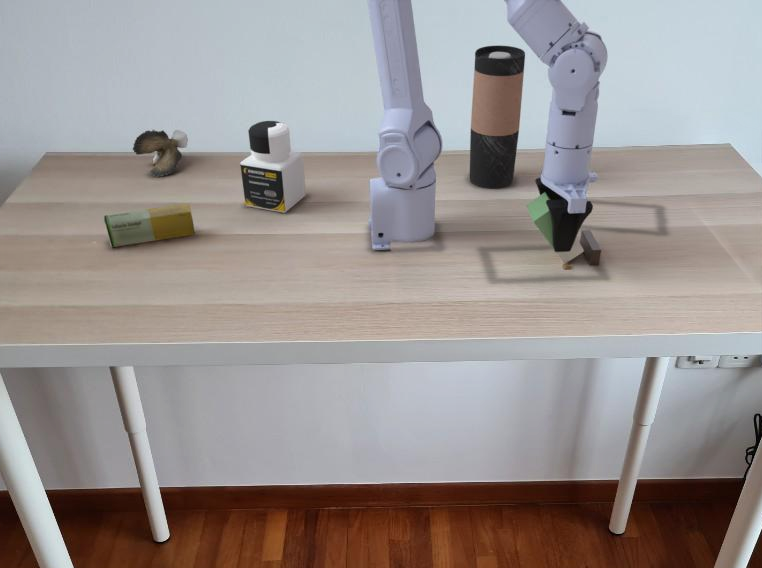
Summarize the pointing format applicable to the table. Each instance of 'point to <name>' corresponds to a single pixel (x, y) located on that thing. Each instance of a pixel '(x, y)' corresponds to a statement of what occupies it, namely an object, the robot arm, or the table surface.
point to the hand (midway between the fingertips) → (557, 241)
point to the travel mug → (495, 115)
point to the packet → (550, 226)
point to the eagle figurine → (161, 149)
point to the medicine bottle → (272, 169)
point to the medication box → (149, 225)
